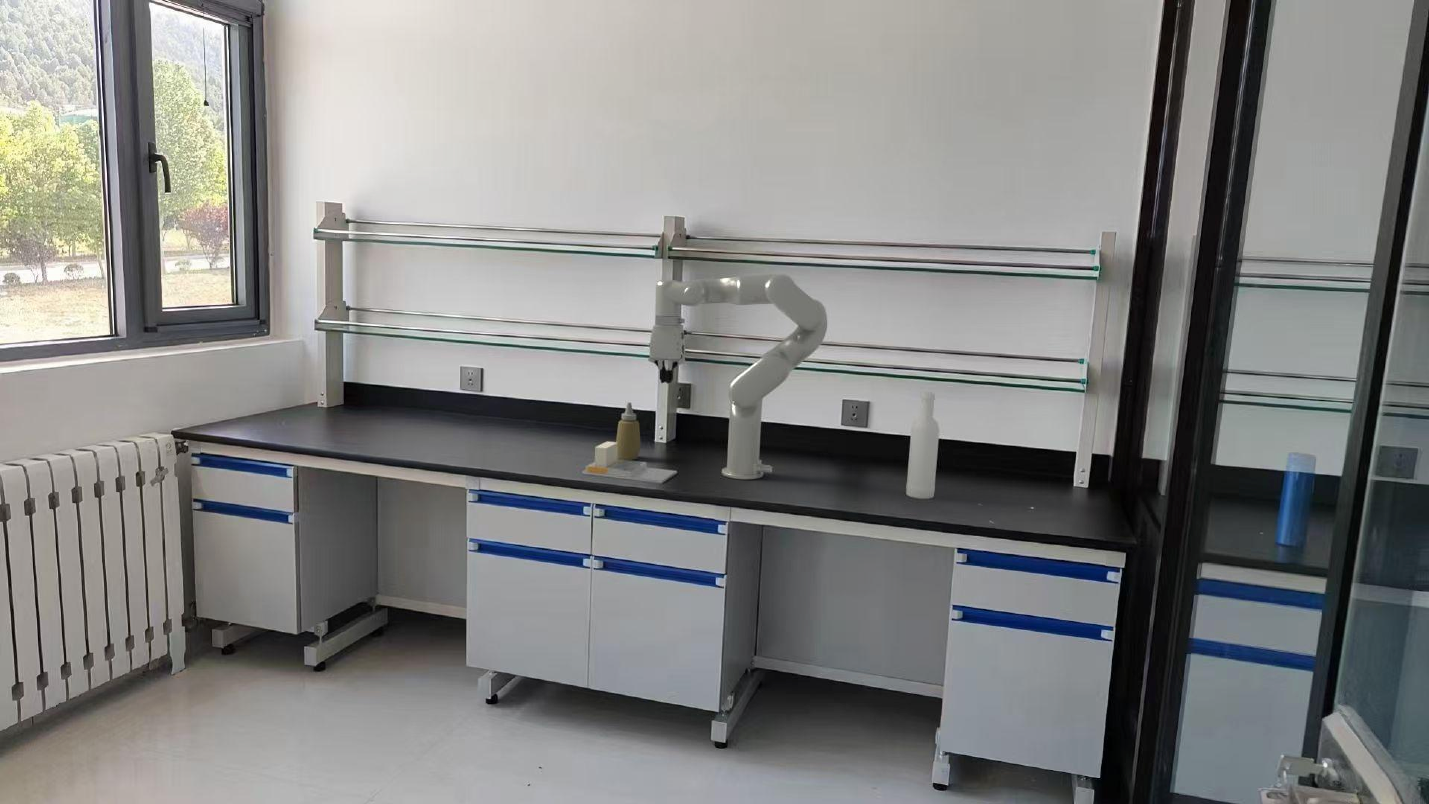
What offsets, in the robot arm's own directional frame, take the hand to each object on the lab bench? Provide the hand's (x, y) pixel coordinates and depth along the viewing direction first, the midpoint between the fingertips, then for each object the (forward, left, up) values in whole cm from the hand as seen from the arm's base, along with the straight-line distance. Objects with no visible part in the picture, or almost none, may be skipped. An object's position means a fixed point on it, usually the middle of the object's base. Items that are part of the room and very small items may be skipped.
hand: (666, 382), depth 288 cm
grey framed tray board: (+7, +10, -27) cm, 29 cm away
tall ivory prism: (+15, +10, -26) cm, 31 cm away
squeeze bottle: (+15, -8, -27) cm, 32 cm away
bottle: (-77, -4, -27) cm, 82 cm away
